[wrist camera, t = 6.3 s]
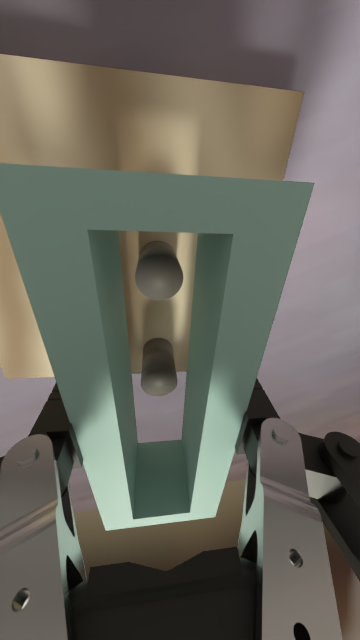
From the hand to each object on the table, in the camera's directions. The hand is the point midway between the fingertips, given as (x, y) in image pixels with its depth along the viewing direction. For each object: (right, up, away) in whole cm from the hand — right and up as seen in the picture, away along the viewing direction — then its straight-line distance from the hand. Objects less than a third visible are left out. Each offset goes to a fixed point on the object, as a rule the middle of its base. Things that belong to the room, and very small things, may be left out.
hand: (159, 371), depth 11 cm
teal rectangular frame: (0, 0, +1) cm, 1 cm away
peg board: (-2, +6, +2) cm, 7 cm away
